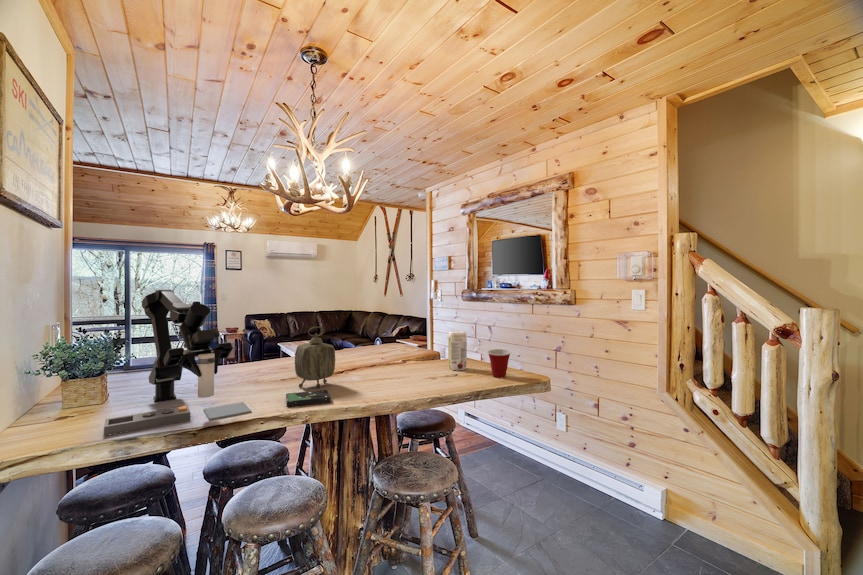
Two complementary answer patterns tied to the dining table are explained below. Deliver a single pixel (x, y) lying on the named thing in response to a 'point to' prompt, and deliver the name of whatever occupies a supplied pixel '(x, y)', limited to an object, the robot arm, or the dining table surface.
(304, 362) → the tabletop clock
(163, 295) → the robot arm
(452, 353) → the juice carton
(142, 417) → the power strip
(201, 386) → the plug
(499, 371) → the plastic cup
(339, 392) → the dining table surface
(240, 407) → the mat
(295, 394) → the disk drive
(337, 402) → the dining table surface
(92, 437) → the dining table surface
